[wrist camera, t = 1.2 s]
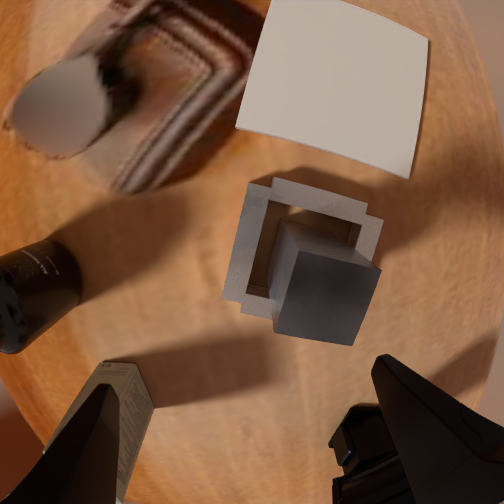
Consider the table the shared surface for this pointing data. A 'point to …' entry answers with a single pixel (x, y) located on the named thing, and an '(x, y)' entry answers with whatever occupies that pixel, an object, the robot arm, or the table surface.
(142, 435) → the skincare box
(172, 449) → the table surface
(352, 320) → the metal peg
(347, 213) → the steel collar
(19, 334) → the supplement bottle
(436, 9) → the table surface
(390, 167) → the pad
